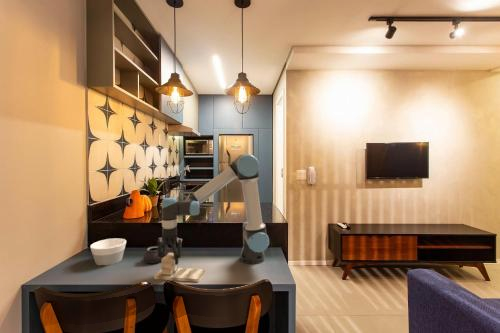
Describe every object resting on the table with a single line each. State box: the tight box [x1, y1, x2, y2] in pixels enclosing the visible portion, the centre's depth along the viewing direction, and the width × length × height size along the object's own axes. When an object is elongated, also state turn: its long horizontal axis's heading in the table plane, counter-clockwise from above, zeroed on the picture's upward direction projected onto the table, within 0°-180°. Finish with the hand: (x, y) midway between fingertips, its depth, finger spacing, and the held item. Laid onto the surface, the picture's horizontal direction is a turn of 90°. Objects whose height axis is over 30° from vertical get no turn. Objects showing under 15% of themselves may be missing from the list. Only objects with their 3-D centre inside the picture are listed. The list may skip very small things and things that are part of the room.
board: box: [153, 267, 207, 283], centre depth 136 cm, size 24×11×2 cm, turn 82°
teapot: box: [142, 240, 170, 264], centre depth 159 cm, size 19×15×10 cm
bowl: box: [90, 237, 127, 266], centre depth 155 cm, size 19×19×11 cm
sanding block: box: [160, 252, 179, 276], centre depth 136 cm, size 9×5×8 cm, turn 172°
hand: (170, 270), depth 137 cm, fingers closed on sanding block, 5 cm apart
